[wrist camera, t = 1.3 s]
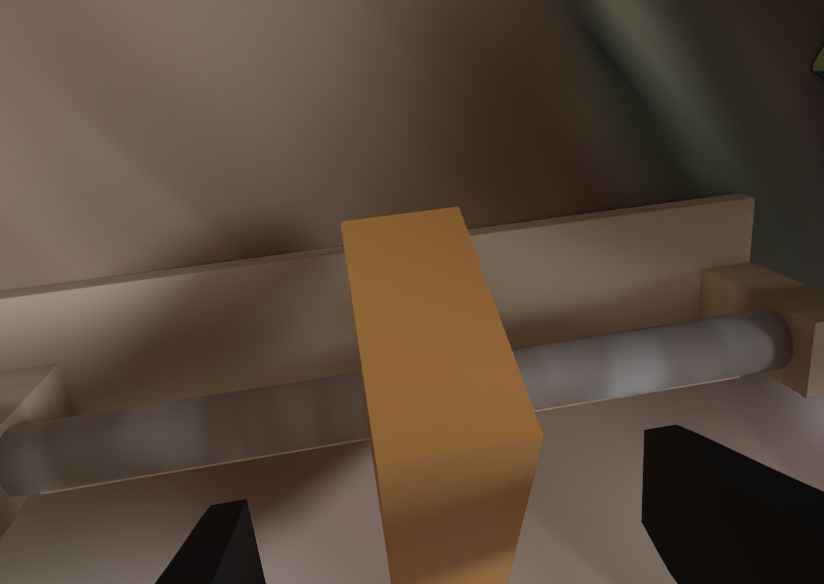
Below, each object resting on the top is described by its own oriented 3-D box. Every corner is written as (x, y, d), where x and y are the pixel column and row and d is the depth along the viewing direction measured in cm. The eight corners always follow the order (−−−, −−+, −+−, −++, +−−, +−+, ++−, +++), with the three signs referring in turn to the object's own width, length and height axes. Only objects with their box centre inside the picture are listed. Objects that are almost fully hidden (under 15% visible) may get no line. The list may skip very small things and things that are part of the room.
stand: (724, 367, 21) (853, 456, 16) (51, 478, 19) (-47, 623, 14) (737, 193, 19) (890, 231, 14) (-13, 293, 17) (-156, 382, 12)
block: (450, 406, 19) (501, 604, 15) (367, 420, 19) (397, 625, 15) (459, 206, 13) (544, 436, 9) (340, 221, 13) (376, 464, 9)
